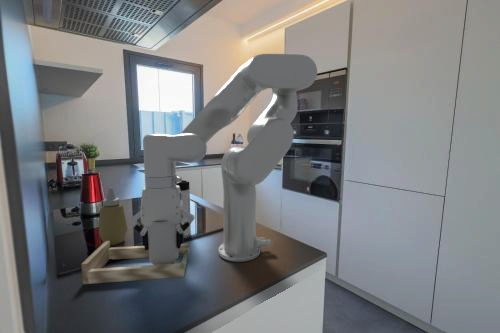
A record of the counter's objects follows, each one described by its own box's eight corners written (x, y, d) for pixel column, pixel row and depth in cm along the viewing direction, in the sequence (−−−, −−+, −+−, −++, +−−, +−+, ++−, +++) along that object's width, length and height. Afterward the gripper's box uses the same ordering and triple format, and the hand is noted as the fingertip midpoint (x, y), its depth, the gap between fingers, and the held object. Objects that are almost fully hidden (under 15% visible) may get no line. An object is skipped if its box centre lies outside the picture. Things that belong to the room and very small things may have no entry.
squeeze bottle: (107, 236, 83) (104, 185, 81) (132, 236, 84) (129, 185, 81) (94, 247, 75) (90, 191, 73) (121, 247, 76) (117, 190, 73)
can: (169, 269, 61) (167, 223, 59) (143, 266, 62) (140, 221, 61) (183, 255, 68) (182, 214, 67) (159, 252, 70) (157, 212, 68)
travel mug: (168, 235, 84) (166, 179, 82) (185, 230, 89) (184, 177, 86) (176, 241, 80) (174, 182, 77) (194, 236, 84) (192, 179, 82)
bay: (189, 252, 72) (188, 236, 72) (183, 276, 60) (183, 257, 60) (106, 257, 69) (105, 241, 68) (83, 284, 57) (81, 264, 56)
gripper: (196, 178, 67) (198, 239, 70) (130, 180, 65) (134, 242, 67) (194, 184, 60) (196, 251, 62) (119, 186, 58) (124, 256, 60)
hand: (163, 246), depth 65 cm, fingers closed on can, 7 cm apart
